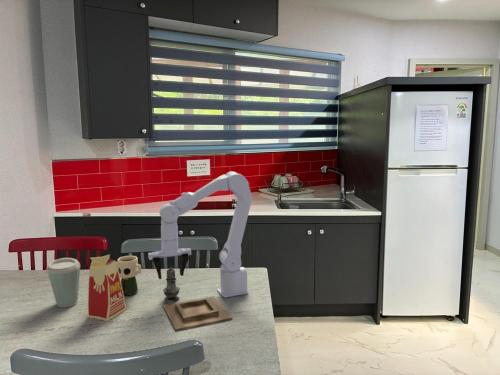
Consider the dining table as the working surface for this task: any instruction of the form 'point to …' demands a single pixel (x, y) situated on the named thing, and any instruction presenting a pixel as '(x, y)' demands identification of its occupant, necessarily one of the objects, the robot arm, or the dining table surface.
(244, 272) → the robot arm
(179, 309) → the walnut holder
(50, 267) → the disposable coffee cup
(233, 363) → the dining table surface
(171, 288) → the salt shaker
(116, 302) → the milk carton
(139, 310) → the dining table surface
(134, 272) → the character mug
